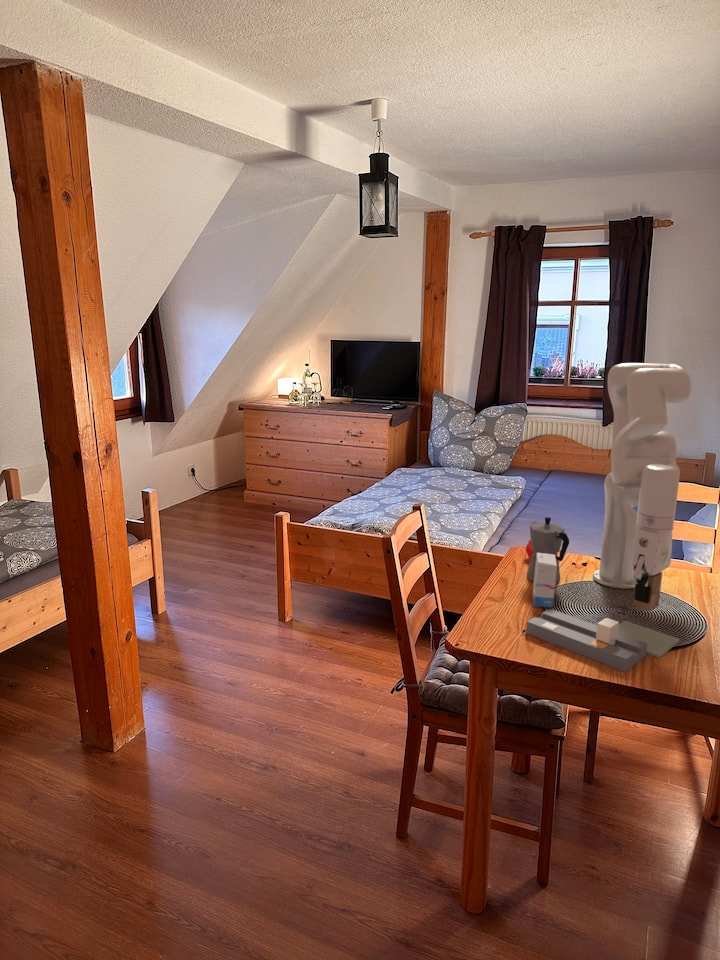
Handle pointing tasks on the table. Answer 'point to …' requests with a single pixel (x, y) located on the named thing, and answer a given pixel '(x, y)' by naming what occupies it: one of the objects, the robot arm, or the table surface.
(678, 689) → the table surface
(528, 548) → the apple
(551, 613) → the switch panel
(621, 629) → the mat
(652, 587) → the brown block
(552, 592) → the ink box
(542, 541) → the coffeepot
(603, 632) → the switch tab
